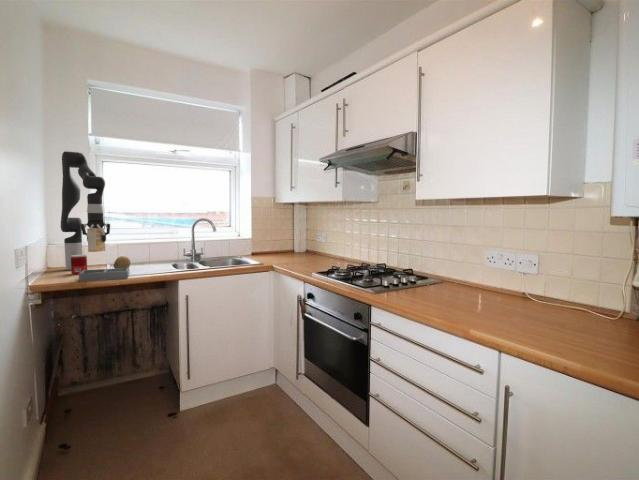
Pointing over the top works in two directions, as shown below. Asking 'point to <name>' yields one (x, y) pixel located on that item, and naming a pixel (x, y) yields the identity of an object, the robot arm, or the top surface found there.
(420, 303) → the top surface
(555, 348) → the top surface
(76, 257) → the canned food
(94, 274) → the organiser tray
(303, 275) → the top surface
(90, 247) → the supplement box
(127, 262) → the natural sponge
